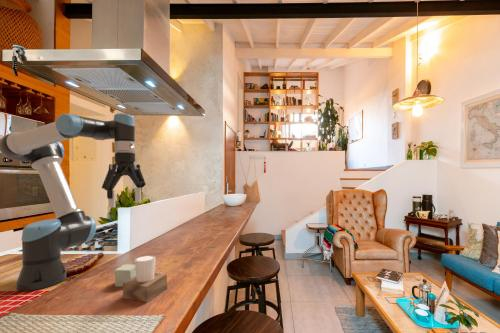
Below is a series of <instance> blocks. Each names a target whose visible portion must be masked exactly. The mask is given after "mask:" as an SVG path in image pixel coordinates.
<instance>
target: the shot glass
mask: <svg viewBox="0 0 500 333" xmlns="http://www.w3.org/2000/svg"><path fill="white" fill-rule="evenodd" d="M156 258H157V257H156V256H155V255H142V256H138V257H136V258H134V265H135V270H136V278H137V281H138V282H147V281H150V280H152V279H154V273H155V271H156Z"/></svg>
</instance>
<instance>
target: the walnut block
mask: <svg viewBox="0 0 500 333" xmlns="http://www.w3.org/2000/svg"><path fill="white" fill-rule="evenodd" d="M166 290H168V274H163V273H157V272H156V273H154V279H152V280H150V281H147V282H138V281H137V278H136V276H135V277H133V278H131V279H129V280H127V281H126V282H124V283H123V287H122V298H123V299H126V300H132V301H138V302H144V303H149V302H150V301H152V300H153V299H154V298H156V297H158V296H159V295H161V294H162V293H163V292H165V291H166Z"/></svg>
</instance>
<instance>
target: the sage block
mask: <svg viewBox="0 0 500 333" xmlns="http://www.w3.org/2000/svg"><path fill="white" fill-rule="evenodd" d="M135 276H136V270H135V263H134V264H127V263H126V264H122V265H121V266H120V267H118V268H116V269H115V270H114V286H115V287H121V286H123V283H124V282H126V281H127V280H129V279H131V278H133V277H135Z"/></svg>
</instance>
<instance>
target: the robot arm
mask: <svg viewBox="0 0 500 333" xmlns="http://www.w3.org/2000/svg"><path fill="white" fill-rule="evenodd" d="M135 129H136V124H135V116H134V115H132V114H129V113H123V112H122V113H116V114H114V116H113V120H101V119H100V120H99V119H95V118H90V117H86V116H82V115H77V114H74V113H73V114H72V113H61V114H59V115H58V117H57V118H56V121H53V122H50V123H46V124H43V125H40V126H38V127H34V128H32V129H29V130H26V131H23V132H22V131H13V132H11V133H8V134H6V135H4V136H2V138H1V139H0V153H1V154H2V155H3V156H4V157H5V158H7V159H9V160H12V161H15V162H29V163H30V166H31V168H32V169H33V170H36V171H37V172H38V174H39V178H40V179H41V182H42V185H43V187H44V190H45V192H46V195H47V197H48V199H49V202H50V205H51V207H52V209H53V212H54V215H55V218H49V219H45V220H44V219H43V220H38V221H34V222H32V223H29V224H27V225H26V226H24V227H23V229H22V232H21V234H22V235H21V241H22V244H21V245H22V246H21V248H22V249H21V250H22V252H21V253H22V255H21V256H22V258H21V259H22V265H21V266H22V267H21V269H20V272H19V274H18V277H17V279H16V290H18V291H22V292H26V291H35V290H42V289H46V288H49V287H52V286H53V287H54V286H55V285H58V284H59V283H62V282H63V281H65V279H66V278H67V270H66V269H65V268H66V267H65V266H64V263H63V261H62V257H61V256H62V255H61V250H66V249H69V248H72V247H75V246H80V245H83V244H86V243H88V242H90V241H91V240H92V239H93V238H94V237H95V234H96V232H97V224H96V221H95V219H94V217H92V216H89V215H86V213H85V210H83V209H80V208H79V207H78V204H77V202H76V200H75V197H74V195H73V192H72V190H71V187H70V186H69V183H68V181H67V178H66V175H65V173H64V170H63V169H62V166H61V164H62V163H63V159H64V157H65V148H64V145H63V144H62V142H63V141H66V140H67V141H68V140H71V139H74V138H77V137H83V138H89V139H93V140H95V141H105V140H114V152H115V153H114V162H115V163H110V164H109V165H108V171H107V173H106V175H105V178H104V181H103V183H102V186H101V189H103V190H105V191H106V198H107V200H108V201H107V202H108V205H107V206H108V208H116V207H117V206H116V205H117V204H116V189H115V187H116V186H117V185H118V183H119V181H120V179H122V177H123V176H127V177H129V178H130V179H131V181H132V182H133V184H134V185H135V187H134V203H135V204H142V195H143V188H144V187H145V186H146V181H145V179H144V176H143V173H142V170H141V165H140V164H135V162H136V153H135V152H136V139H135V138H136V137H135V135H136V134H135V133H136V130H135Z"/></svg>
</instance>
